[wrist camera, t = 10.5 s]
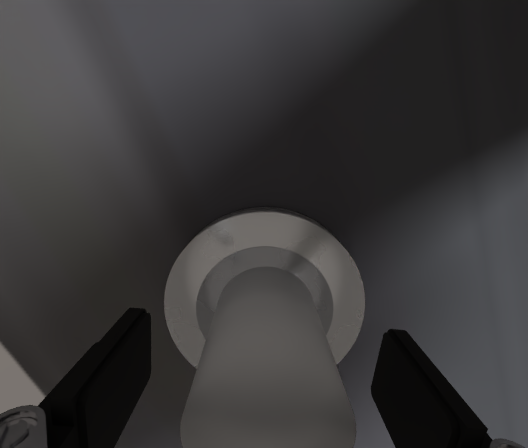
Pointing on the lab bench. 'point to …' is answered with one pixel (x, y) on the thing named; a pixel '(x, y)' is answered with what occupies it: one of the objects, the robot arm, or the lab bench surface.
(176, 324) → the shallow grey dish
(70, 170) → the lab bench surface
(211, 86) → the lab bench surface
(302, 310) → the white light bulb
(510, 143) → the lab bench surface
